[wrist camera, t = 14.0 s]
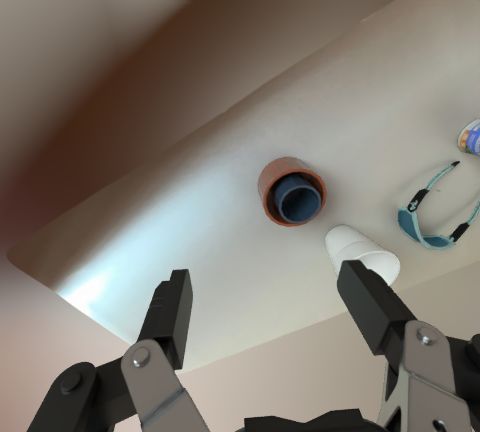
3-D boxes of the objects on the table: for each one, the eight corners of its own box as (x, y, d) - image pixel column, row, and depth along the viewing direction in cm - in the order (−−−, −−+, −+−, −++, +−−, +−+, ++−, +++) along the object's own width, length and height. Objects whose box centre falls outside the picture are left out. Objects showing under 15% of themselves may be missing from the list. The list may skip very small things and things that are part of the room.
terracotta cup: (258, 158, 37) (264, 170, 31) (315, 155, 37) (331, 167, 32) (257, 209, 42) (262, 228, 36) (308, 206, 42) (321, 224, 36)
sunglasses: (382, 219, 44) (402, 230, 40) (440, 152, 40) (469, 156, 36) (424, 249, 49) (446, 262, 44) (480, 191, 45) (511, 199, 40)
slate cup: (270, 168, 38) (280, 186, 31) (305, 167, 38) (324, 184, 31) (268, 201, 40) (277, 224, 34) (301, 199, 41) (317, 222, 34)
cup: (309, 227, 44) (332, 265, 35) (359, 207, 43) (397, 241, 33) (321, 262, 49) (345, 304, 39) (367, 245, 47) (403, 285, 38)
